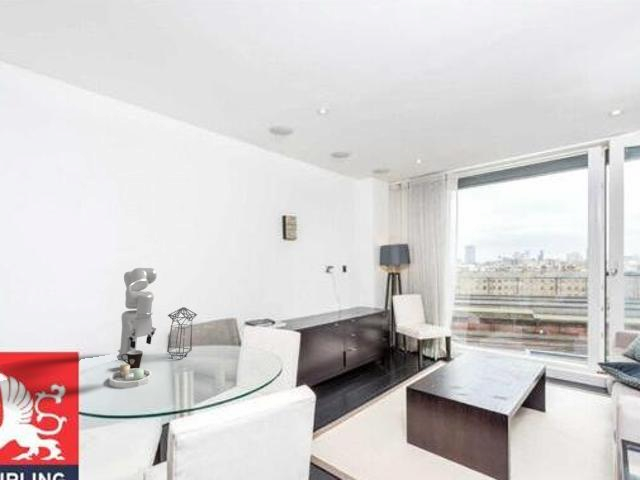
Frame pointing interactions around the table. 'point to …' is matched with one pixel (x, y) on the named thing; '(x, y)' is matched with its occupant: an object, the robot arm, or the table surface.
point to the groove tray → (129, 379)
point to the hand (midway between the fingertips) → (140, 345)
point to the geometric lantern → (181, 330)
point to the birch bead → (124, 370)
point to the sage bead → (138, 374)
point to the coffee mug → (134, 358)
